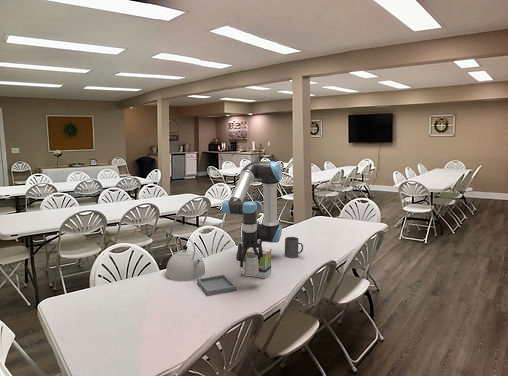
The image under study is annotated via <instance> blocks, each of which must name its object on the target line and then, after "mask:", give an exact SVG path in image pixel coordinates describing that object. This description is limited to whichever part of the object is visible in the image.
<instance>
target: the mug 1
mask: <svg viewBox="0 0 508 376" xmlns="http://www.w3.org/2000/svg"><path fill="white" fill-rule="evenodd" d="M245 257H246V261H245V275H244V276H248V277H255V276H256V275H258V272H259V270H258V257H257V255H253V254H251V255H245ZM244 259H245V258H244Z"/></svg>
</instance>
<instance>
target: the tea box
mask: <svg viewBox="0 0 508 376" xmlns="http://www.w3.org/2000/svg"><path fill="white" fill-rule="evenodd" d="M256 249H257V251H258V253H259V250H258V248H256ZM262 251H263V257H261V259H260V264H258V270H259V272H258V275H256V276H254V277H255V278H256V277H257V278H260V279H261V278H262V279H266V278H267V277H268V276H269V275H271V273H272V249H270V248H262ZM251 254H253V255H255V253H254V250H253V248H248V250H247V252H246V255H251ZM245 261H246V257H245V259H244V262H245ZM241 275H243V276H246V275H245V273H244V274H243V273H242V272H241Z"/></svg>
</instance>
